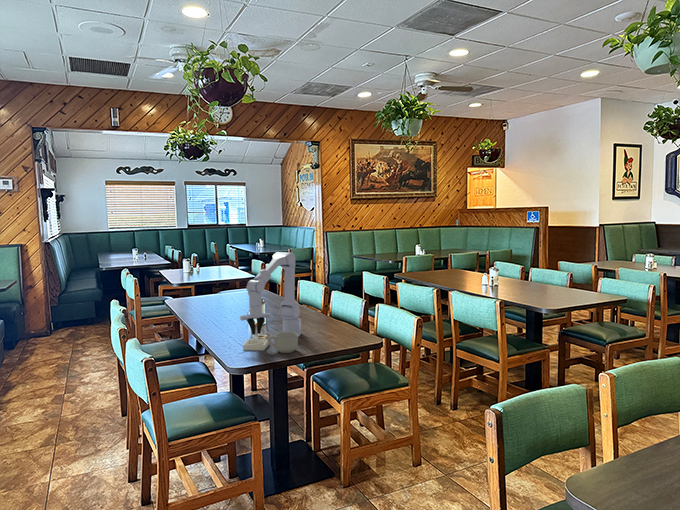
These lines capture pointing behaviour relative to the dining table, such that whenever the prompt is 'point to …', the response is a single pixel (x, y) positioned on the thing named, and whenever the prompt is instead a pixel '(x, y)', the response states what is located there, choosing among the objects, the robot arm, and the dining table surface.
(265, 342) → the tray
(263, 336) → the beige square frame
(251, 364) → the dining table surface
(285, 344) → the teacup
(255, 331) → the pin
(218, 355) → the dining table surface
